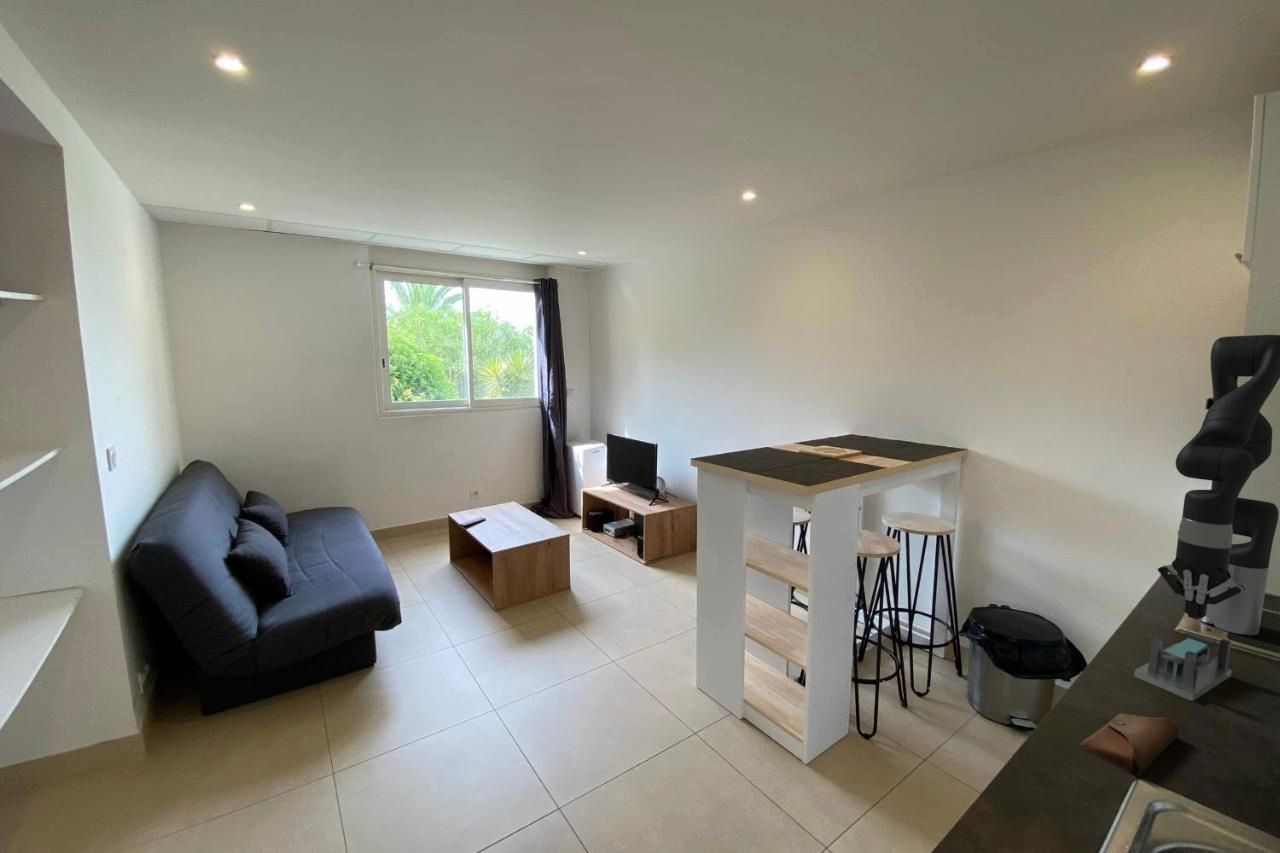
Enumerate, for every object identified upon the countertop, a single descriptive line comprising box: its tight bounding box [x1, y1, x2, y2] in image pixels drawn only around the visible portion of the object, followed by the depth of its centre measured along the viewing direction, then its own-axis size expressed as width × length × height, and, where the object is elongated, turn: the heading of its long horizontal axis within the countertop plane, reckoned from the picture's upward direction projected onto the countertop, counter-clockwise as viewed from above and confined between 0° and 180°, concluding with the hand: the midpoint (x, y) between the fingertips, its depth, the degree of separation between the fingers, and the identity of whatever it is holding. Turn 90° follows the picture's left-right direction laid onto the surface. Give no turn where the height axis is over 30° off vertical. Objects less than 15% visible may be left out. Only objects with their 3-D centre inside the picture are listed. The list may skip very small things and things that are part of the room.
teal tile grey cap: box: [1161, 631, 1217, 665], centre depth 109 cm, size 14×4×2 cm, turn 115°
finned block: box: [1134, 638, 1232, 702], centre depth 109 cm, size 18×9×8 cm, turn 115°
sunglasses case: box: [1080, 713, 1180, 778], centre depth 91 cm, size 18×7×7 cm
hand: (1194, 617), depth 109 cm, fingers closed
